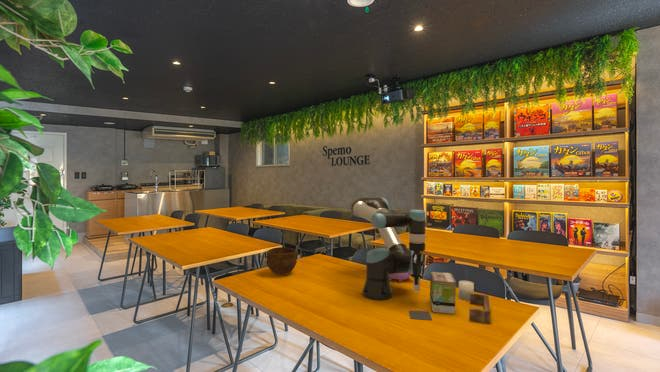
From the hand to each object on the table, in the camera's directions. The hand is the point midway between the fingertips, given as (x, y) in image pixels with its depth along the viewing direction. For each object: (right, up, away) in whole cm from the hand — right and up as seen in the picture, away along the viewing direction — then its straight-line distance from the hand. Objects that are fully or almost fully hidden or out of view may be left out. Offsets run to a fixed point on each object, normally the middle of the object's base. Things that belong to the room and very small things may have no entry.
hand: (416, 290), depth 163 cm
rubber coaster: (-2, -7, -14) cm, 16 cm away
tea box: (+11, -7, -4) cm, 13 cm away
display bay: (+26, -7, -11) cm, 28 cm away
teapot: (0, -5, +38) cm, 38 cm away
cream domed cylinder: (+27, -6, +7) cm, 29 cm away
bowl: (-72, -4, +47) cm, 86 cm away
